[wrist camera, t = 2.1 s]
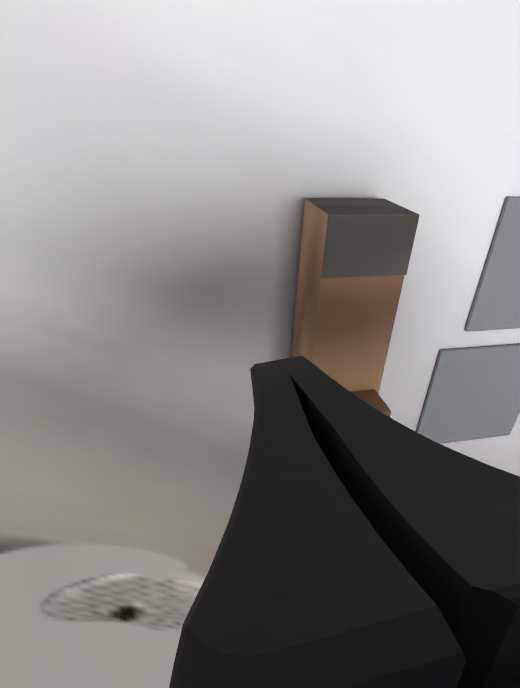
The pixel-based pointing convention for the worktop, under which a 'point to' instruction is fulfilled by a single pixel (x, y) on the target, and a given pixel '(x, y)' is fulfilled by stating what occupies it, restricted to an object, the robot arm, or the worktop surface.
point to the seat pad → (500, 276)
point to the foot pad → (472, 394)
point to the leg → (351, 288)
